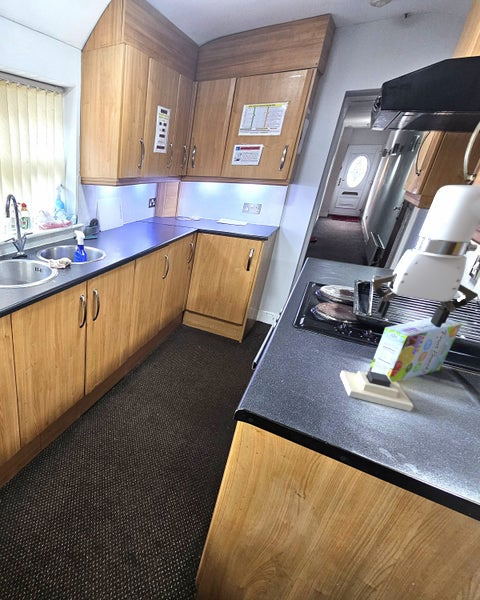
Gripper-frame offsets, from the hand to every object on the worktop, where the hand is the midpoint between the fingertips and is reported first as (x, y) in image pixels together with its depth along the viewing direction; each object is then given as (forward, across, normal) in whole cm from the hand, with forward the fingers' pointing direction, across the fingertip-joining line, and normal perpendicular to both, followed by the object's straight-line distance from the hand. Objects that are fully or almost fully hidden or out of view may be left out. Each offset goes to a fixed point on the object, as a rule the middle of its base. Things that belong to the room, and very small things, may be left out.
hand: (406, 320), depth 75 cm
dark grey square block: (+18, 0, 0) cm, 18 cm away
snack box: (+21, -10, -15) cm, 27 cm away
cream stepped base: (+21, 0, 0) cm, 21 cm away
